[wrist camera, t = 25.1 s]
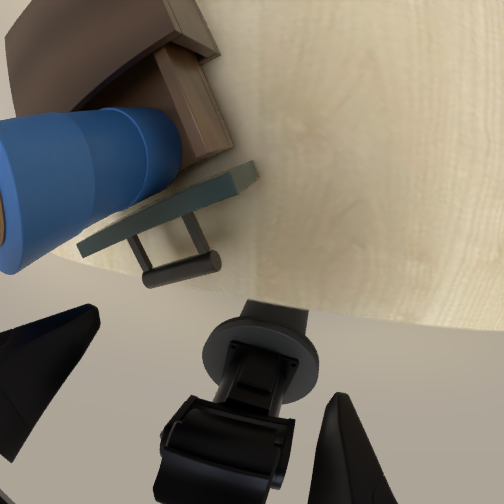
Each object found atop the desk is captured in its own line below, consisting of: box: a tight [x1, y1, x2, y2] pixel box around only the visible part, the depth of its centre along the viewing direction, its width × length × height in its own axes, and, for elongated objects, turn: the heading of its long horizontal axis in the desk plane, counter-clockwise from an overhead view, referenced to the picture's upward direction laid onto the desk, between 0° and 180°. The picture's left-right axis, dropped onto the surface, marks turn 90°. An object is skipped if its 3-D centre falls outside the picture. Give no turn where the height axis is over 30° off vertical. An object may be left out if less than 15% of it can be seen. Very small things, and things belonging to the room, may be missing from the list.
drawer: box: [76, 41, 259, 289], centre depth 17 cm, size 17×13×5 cm
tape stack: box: [0, 107, 182, 275], centre depth 13 cm, size 6×6×12 cm
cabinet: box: [5, 0, 221, 117], centre depth 14 cm, size 14×15×7 cm
